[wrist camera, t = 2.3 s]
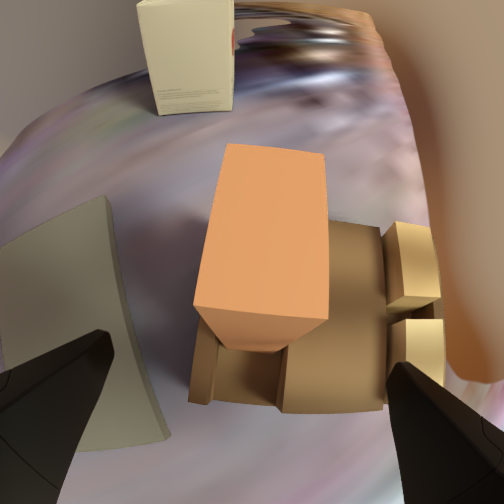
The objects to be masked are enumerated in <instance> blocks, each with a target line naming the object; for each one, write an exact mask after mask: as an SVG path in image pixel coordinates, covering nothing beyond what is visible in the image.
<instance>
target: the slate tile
mask: <svg viewBox="0 0 504 504" xmlns="http://www.w3.org/2000/svg"><path fill="white" fill-rule="evenodd" d="M96 329H101V330H105V331H108V332H109V333H110V335H111V339H112V343H113V347H114V351H115V355H114V359H113V362H112V365H111V367H110V370H109V373H108V376H107V378H106V381H105V384H104V387H103V390H102V392H101V395H100V397H99V400H98V402H97V404H96V406H95V408H94V410H93V412H92V415H91V417H90V419H89V421H88V423H87V426H86V428H85V430H84V433H83V435H82V437H81V440H80V442H79V444H78V447H77V449H76V451H75V452H87V451H99V450H109V449H117V448H124V447H131V446H137V445H143V444H149V443H154V442H159V441H164V440H166V439H168V438H169V437H170V436H171V434H170V431H169V429H168V427H167V424H166V422H165V420H164V417H163V415H162V412H161V410H160V407H159V405H158V402H157V399H156V397H155V394H154V391H153V388H152V386H151V383H150V380H149V377H148V374H147V371H146V368H145V365H144V362H143V359H142V355H141V352H140V349H139V345H138V342H137V338H136V335H135V331H134V328H133V324H132V320H131V316H130V312H129V308H128V304H127V299H126V295H125V290H124V285H123V281H122V275H121V270H120V265H119V259H118V253H117V247H116V241H115V234H114V226H113V218H112V209H111V203H110V202H109V200H108V199H107V197H106V196H105V195H103V196H100V197H98V198H96V199H93V200H91V201H89V202H87V203H84V204H82V205H80V206H78V207H76V208H74V209H72V210H69V211H67V212H65V213H63V214H61V215H59V216H57V217H55V218H53V219H51V220H49V221H47V222H45V223H43V224H41V225H40V226H38V227H36V228H34V229H32V230H30V231H28V232H27V233H25V234H23V235H21V236H20V237H18V238H16V239H14V240H13V241H11V242H9V243H8V244H6V245H4V246H3V247H1V248H0V336H1V345H2V353H3V360H4V366H5V371H7V370H9V369H12V368H14V367H16V366H18V365H20V364H22V363H25V362H27V361H29V360H31V359H33V358H35V357H38V356H40V355H42V354H44V353H46V352H48V351H51V350H53V349H55V348H57V347H59V346H61V345H64V344H66V343H68V342H70V341H72V340H74V339H77V338H79V337H81V336H83V335H85V334H87V333H90V332H92V331H94V330H96Z"/></svg>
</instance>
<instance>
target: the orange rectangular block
mask: <svg viewBox="0 0 504 504" xmlns="http://www.w3.org/2000/svg"><path fill="white" fill-rule="evenodd" d="M193 306H194V307H195V308H196V310H197V311H198V312H199V314H200V315H201V316H202V318H203V319H204V320H205V322H206V323H207V324H208V326H209V327H210V328H211V329H212V331H213V332H214V333H215V335H216V336H217V337H218V338H219V340H220V341H221V342H222V343H223V345H224V346H225V347H226V348H227V349H232V350H240V351H249V352H259V353H270V354H274V353H276V352H277V351H279V350H281V349H282V348H284V347H286V346H287V345H289V344H290V343H292V342H294V341H295V340H297V339H298V338H300V337H302V336H303V335H305V334H306V333H308V332H310V331H311V330H313V329H314V328H316V327H317V326H319V325H320V324H322V323H323V322H325V321H326V320H328V314H329V233H328V208H327V190H326V176H325V163H324V154H318V153H311V152H305V151H297V150H290V149H282V148H273V147H264V146H253V145H241V144H227V147H226V151H225V155H224V159H223V163H222V167H221V171H220V175H219V180H218V184H217V188H216V192H215V197H214V201H213V206H212V210H211V215H210V220H209V224H208V229H207V234H206V239H205V244H204V249H203V254H202V259H201V264H200V270H199V275H198V280H197V286H196V291H195V297H194V303H193Z"/></svg>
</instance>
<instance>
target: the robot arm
mask: <svg viewBox="0 0 504 504" xmlns="http://www.w3.org/2000/svg"><path fill="white" fill-rule="evenodd" d="M114 355H115V351H114V347H113V343H112V339H111V335H110V333H109V332H108V331H105V330H101V329H96V330H94V331H92V332H90V333H87V334H85V335H83V336H81V337H79V338H77V339H74V340H72V341H70V342H68V343H66V344H64V345H61V346H59V347H57V348H55V349H53V350H51V351H48V352H46V353H44V354H42V355H40V356H38V357H35V358H33V359H31V360H29V361H27V362H25V363H22V364H20V365H18V366H16V367H14V368H12V369H9V370H7V371H5V372H3V373H0V504H56V503H57V500H58V497H59V494H60V490H61V488H62V485H63V482H64V480H65V477H66V474H67V472H68V469H69V466H70V464H71V461H72V459H73V456H74V454H75V451H76V449H77V447H78V444H79V442H80V440H81V437H82V435H83V433H84V430H85V428H86V426H87V423H88V421H89V419H90V417H91V415H92V412H93V410H94V408H95V406H96V404H97V402H98V400H99V397H100V395H101V392H102V390H103V387H104V384H105V381H106V378H107V376H108V373H109V370H110V367H111V365H112V362H113V359H114ZM386 391H387V398H388V405H389V414H390V422H391V427H392V432H393V437H394V442H395V447H396V452H397V457H398V463H399V469H400V475H401V481H402V488H403V495H404V503H405V504H504V432H503V431H502V430H500V429H498V428H497V427H496V426H494V425H493V424H491V423H490V422H489V421H487V420H486V419H485V418H483V417H482V416H481V417H480V415H479V414H478V413H477V412H475V411H474V410H473V409H471V408H470V407H469V406H467V405H466V404H465V403H463V402H462V401H461V400H459V399H458V398H457V397H455V396H454V395H453V394H451V393H450V392H449V391H447V390H446V389H445V388H443V387H442V386H441V385H439V384H438V383H437V382H435V381H434V380H433V379H431V378H430V377H429V376H427V375H426V374H425V373H423V372H422V371H421V370H419V369H418V368H417V367H415V366H414V365H413V364H411V363H410V362H408V361H399V362H397V363H396V364H395V365H394V367H393V369H392V371H391V373H390V374H389V376H388V378H387V381H386Z"/></svg>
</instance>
